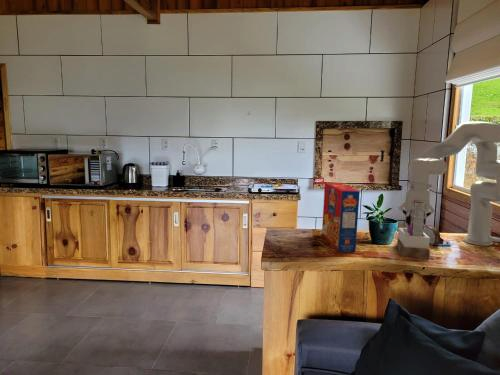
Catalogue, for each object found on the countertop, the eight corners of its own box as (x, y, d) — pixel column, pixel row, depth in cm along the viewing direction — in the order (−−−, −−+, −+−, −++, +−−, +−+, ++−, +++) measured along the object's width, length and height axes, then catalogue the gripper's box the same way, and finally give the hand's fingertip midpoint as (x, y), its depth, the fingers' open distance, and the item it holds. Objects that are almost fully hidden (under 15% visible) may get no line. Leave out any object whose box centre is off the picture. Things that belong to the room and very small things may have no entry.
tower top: (419, 239, 180) (420, 229, 180) (428, 248, 165) (429, 237, 164) (397, 237, 182) (398, 227, 181) (404, 246, 166) (405, 235, 166)
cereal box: (321, 235, 197) (324, 182, 193) (336, 235, 198) (340, 183, 194) (338, 252, 169) (342, 190, 166) (355, 252, 170) (359, 191, 166)
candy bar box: (406, 231, 178) (409, 197, 176) (417, 232, 177) (420, 198, 175) (411, 237, 167) (414, 201, 165) (423, 238, 166) (426, 202, 164)
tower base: (423, 248, 180) (424, 239, 180) (428, 260, 163) (429, 250, 163) (396, 245, 184) (397, 236, 183) (399, 256, 167) (400, 246, 166)
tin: (440, 247, 181) (442, 230, 180) (433, 247, 181) (435, 230, 180) (426, 239, 196) (428, 223, 195) (420, 238, 196) (422, 223, 195)
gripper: (438, 186, 170) (435, 225, 172) (398, 184, 176) (395, 221, 178) (440, 188, 163) (436, 229, 165) (398, 185, 169) (395, 225, 171)
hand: (415, 225), depth 172 cm, fingers closed on candy bar box, 5 cm apart
